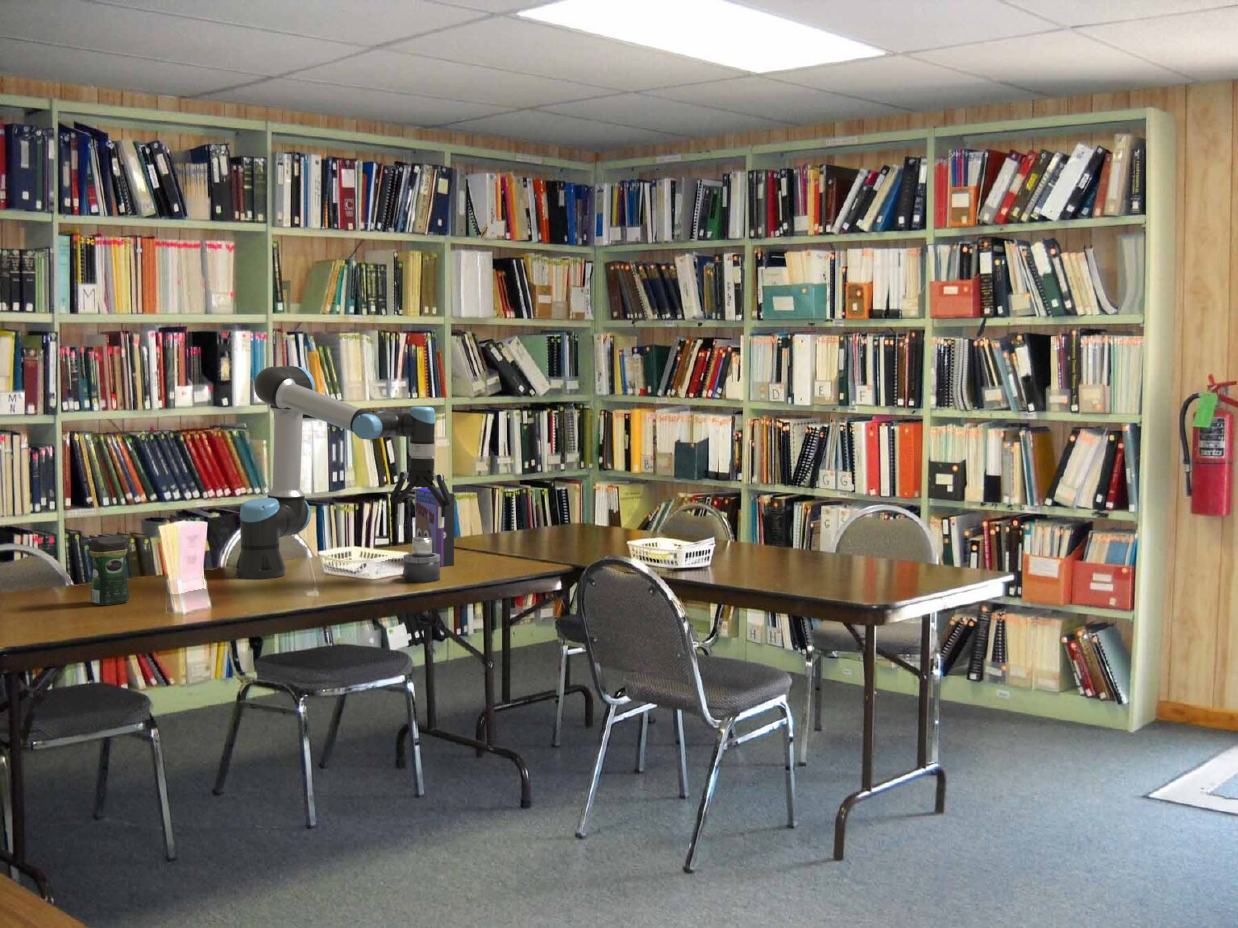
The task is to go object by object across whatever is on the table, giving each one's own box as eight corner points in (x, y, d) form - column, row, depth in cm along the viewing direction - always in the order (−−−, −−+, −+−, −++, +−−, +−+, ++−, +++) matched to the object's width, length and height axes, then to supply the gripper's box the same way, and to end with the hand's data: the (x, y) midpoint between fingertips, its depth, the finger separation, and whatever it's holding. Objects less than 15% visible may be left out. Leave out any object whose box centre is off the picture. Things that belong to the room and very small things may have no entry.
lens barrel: (397, 581, 408) (397, 557, 407) (413, 575, 418) (413, 551, 417) (430, 583, 404) (430, 559, 404) (445, 577, 415) (445, 553, 414)
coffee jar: (120, 598, 376) (119, 533, 374) (133, 602, 370) (131, 536, 368) (86, 602, 369) (84, 536, 367) (98, 607, 363) (96, 539, 362)
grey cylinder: (408, 561, 409) (408, 538, 408) (417, 558, 414) (417, 535, 414) (426, 562, 407) (426, 539, 406) (435, 559, 412) (435, 537, 412)
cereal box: (415, 559, 448) (415, 488, 446) (427, 558, 451) (427, 487, 449) (441, 567, 434) (441, 493, 432) (454, 565, 437) (454, 492, 435)
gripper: (379, 455, 408) (378, 524, 410) (454, 460, 400) (452, 530, 402) (390, 453, 415) (389, 521, 417) (464, 458, 408) (463, 527, 410)
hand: (420, 526), depth 410 cm, fingers open, 13 cm apart
